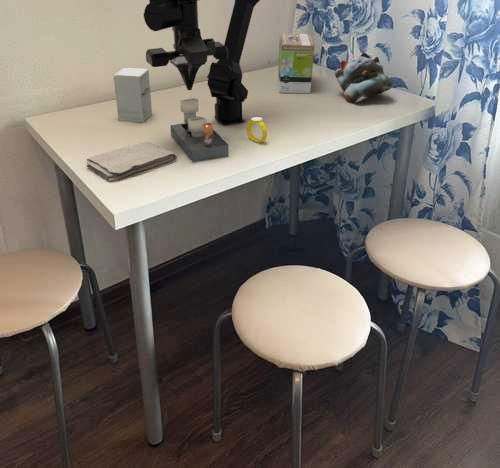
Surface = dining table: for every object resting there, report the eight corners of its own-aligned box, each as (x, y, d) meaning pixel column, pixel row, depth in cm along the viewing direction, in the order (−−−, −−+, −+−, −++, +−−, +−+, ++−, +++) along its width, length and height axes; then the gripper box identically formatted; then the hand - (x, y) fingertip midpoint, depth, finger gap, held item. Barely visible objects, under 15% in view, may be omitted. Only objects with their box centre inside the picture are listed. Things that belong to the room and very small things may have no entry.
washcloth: (83, 169, 133) (81, 156, 131) (148, 147, 143) (147, 135, 141) (111, 186, 125) (110, 173, 124) (178, 162, 136) (177, 150, 134)
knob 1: (195, 117, 148) (194, 95, 145) (201, 123, 144) (200, 101, 141) (179, 119, 146) (177, 98, 143) (184, 125, 143) (183, 103, 140)
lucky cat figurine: (346, 106, 168) (333, 58, 166) (341, 108, 179) (330, 64, 178) (396, 90, 166) (384, 42, 164) (389, 94, 178) (377, 49, 176)
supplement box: (143, 123, 156) (139, 76, 149) (117, 121, 157) (112, 74, 150) (153, 113, 162) (149, 68, 155) (128, 111, 163) (123, 66, 156)
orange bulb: (211, 142, 137) (210, 122, 134) (214, 146, 135) (214, 125, 133) (201, 144, 136) (200, 123, 134) (205, 147, 134) (204, 127, 132)
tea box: (311, 93, 177) (314, 44, 169) (278, 93, 177) (280, 44, 169) (308, 79, 190) (310, 32, 182) (277, 78, 190) (279, 32, 182)
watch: (245, 140, 147) (243, 117, 144) (252, 137, 148) (251, 114, 146) (261, 145, 143) (260, 122, 140) (269, 142, 145) (268, 119, 142)
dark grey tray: (204, 131, 151) (204, 120, 149) (228, 156, 138) (228, 144, 136) (171, 136, 148) (170, 125, 146) (192, 162, 135) (191, 150, 133)
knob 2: (203, 136, 145) (202, 114, 142) (209, 142, 142) (208, 120, 139) (186, 139, 144) (185, 117, 141) (192, 145, 140) (191, 123, 137)
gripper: (156, 34, 123) (162, 105, 131) (237, 26, 129) (237, 94, 138) (142, 23, 131) (148, 91, 140) (218, 16, 138) (220, 81, 146)
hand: (189, 89), depth 141 cm, fingers closed
